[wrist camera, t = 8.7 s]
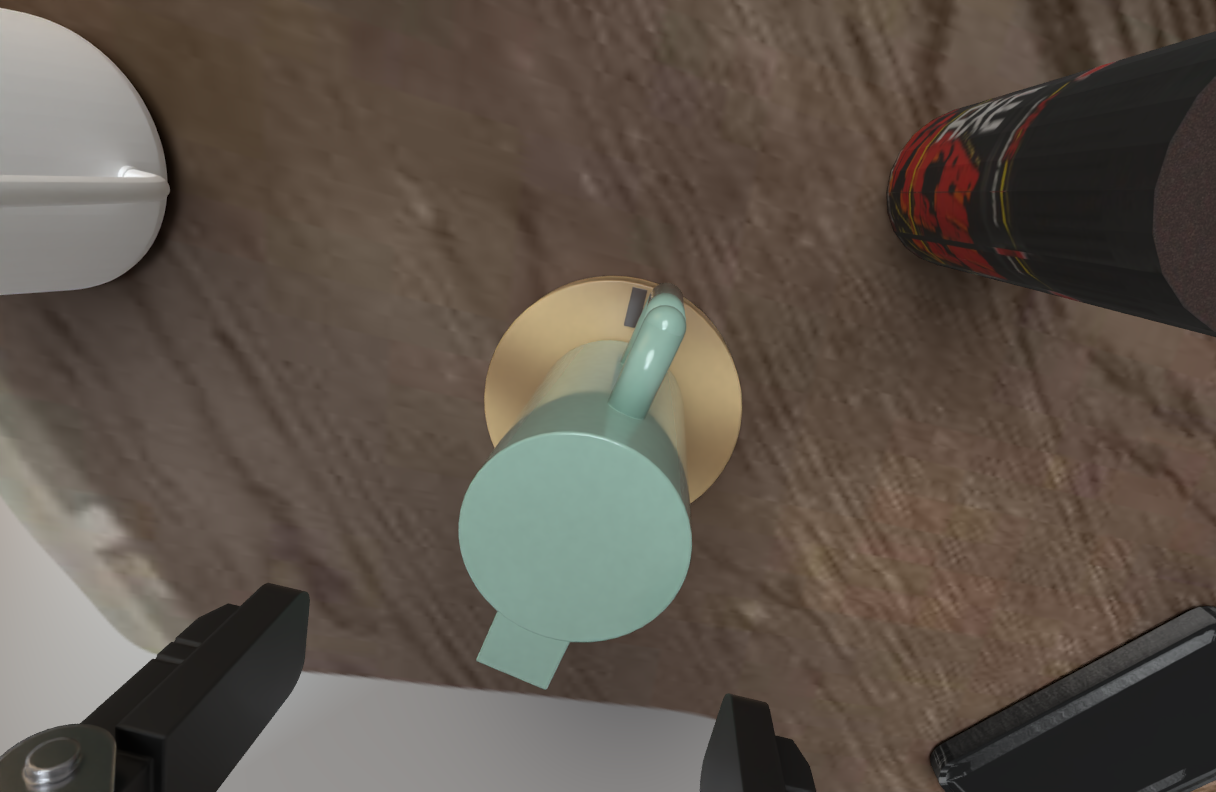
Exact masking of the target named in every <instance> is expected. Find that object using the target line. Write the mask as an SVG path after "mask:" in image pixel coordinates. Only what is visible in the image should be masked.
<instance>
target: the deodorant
mask: <svg viewBox="0 0 1216 792" xmlns="http://www.w3.org/2000/svg"><path fill="white" fill-rule="evenodd" d="M887 208H888V215H889V218H890V221H891V224H892V227H893V230H894V232H895V233H896V235H897V236H898V237H899V239H900V240H901V242H902V243H903V244H904V246H905V247H906V248H908V249H909V250H910V251H912V252H913V253H914V254H915V255H917V256H918V257H919V258H921V259H924V260H927V261H929V262H932V263H934V264H937V265H940V266H944V267H948V268H952V269H956V270H960V271H964V272H967V273H971V274H975V275H979V276H983V277H987V278H991V279H994V280H998V281H1002V282H1006V283H1010V284H1014V285H1017V286H1021V287H1025V288H1029V289H1033V290H1037V291H1041V292H1044V293H1048V294H1052V295H1056V296H1060V297H1064V298H1068V299H1071V300H1075V301H1079V302H1083V303H1087V304H1091V305H1095V306H1098V307H1102V308H1106V309H1110V310H1114V311H1118V312H1121V313H1125V314H1129V315H1133V316H1137V317H1141V318H1145V319H1148V320H1152V321H1156V322H1160V323H1164V324H1168V325H1172V326H1175V327H1179V328H1183V329H1187V330H1191V331H1195V332H1198V333H1202V334H1206V335H1210V336H1214V337H1216V31H1215V32H1212V33H1209V34H1205V35H1202V36H1199V37H1195V38H1192V39H1189V40H1185V41H1182V42H1179V43H1175V44H1172V45H1169V46H1166V47H1162V48H1159V49H1156V50H1152V51H1149V52H1146V53H1142V54H1139V55H1136V56H1132V57H1129V58H1126V59H1122V60H1119V61H1116V62H1112V63H1109V64H1106V65H1102V66H1099V67H1096V68H1092V69H1089V70H1086V71H1083V72H1079V73H1076V74H1073V75H1069V76H1066V77H1063V78H1059V79H1056V80H1053V81H1049V82H1046V83H1043V84H1039V85H1036V86H1033V87H1029V88H1026V89H1023V90H1019V91H1016V92H1013V93H1009V94H1006V95H1003V96H1000V97H996V98H993V99H990V100H986V101H983V102H980V103H976V104H973V105H970V106H966V107H963V108H960V109H956V110H953V111H951V112H949V113H947V114H944V115H942V116H940V117H938V118H936V119H934V120H932V121H931V122H929V123H928V124H927V125H925V126H924V127H923V128H922V129H920V130H919V131H918V132H917V133H915V134H914V135H913V137H912V138H911V139H910V140H909V142H908V143H907V144H906V145H905V147H904V148H903V149H902V150H901V152H900V153H899V156H898V158H897V160H896V162H895V164H894V166H893V168H892V170H891V173H890V178H889V183H888V188H887Z"/></svg>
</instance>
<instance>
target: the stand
mask: <svg viewBox="0 0 1216 792" xmlns="http://www.w3.org/2000/svg"><path fill="white" fill-rule="evenodd" d="M657 285H659V284H657V283H653V282H650V281H647V280H644V279H639V278H633V277H627V276H600V277H591V278H587V279H582V280H578V281H575V282H572V283H569V284H567V285H564V286H561V287H559V288H557V289H555V290H554V291H552V292H550V293H548V294H546V295H545V296H543V297H542V298H541V299H539V300H538V301H537V302H535V303H534V304H533V305H531V306H530V307H529V308H527V309H526V310H525V311H524V312H523V313H522V314H521V315H520V316H519V317H518V318H517V319H516V320H515V321H514V322H513V323H512V325H511V326H510V327H509V328H508V330H507V331H506V332H505V334H504V335H503V337H502V339H501V340H500V342H499V344H498V346H497V347H496V349H495V352H494V354H493V357H492V359H491V362H490V365H489V369H488V373H487V377H486V383H485V393H484V403H485V416H486V422H487V427H488V430H489V434H490V437H491V440H492V443H493V445H494V447H496V446H497V444H498V443H499V441H500V440H501V439H502V437H503V436H504V434H505V433H506V431H507V430H508V429H509V427H510V426H511V424H512V423H513V421H514V420H515V419H516V417H517V416H518V414H519V413H520V411H521V410H522V409H523V407H524V406H525V404H526V403H527V402H528V400H529V399H530V397H531V396H532V394H533V393H534V392H535V390H536V389H537V387H538V386H539V384H540V383H541V382H542V380H543V379H544V377H545V376H546V374H547V373H548V372H549V370H550V369H551V367H552V366H553V365H554V364H555V363H556V362H557V361H558V360H559V359H560V358H561V357H562V356H563V355H565V354H566V353H568V352H569V351H571V350H572V349H574V348H576V347H579V346H581V345H583V344H587V343H590V342H595V341H601V340H615V341H623V342H627V343H628V342H629V340H630V338H631V335H632V333H633V331H634V329H635V326H636V324H637V322H638V320H639V317H640V315H641V313H642V311H643V308H644V306H645V304H646V302H647V299H648V297H649V295H650V293H651V291H652V290H653V289H654V288H655V287H656V286H657ZM683 299H684V308H685V317H686V333H685V335H684V338H683V340H682V342H681V344H680V346H679V348H678V350H677V353H676V355H675V357H674V359H673V361H672V363H671V365H670V367H669V370H670V371H671V372H672V374H673V375H674V377H675V379H676V381H677V383H678V385H679V387H680V390H681V393H682V396H683V402H684V412H685V428H686V445H687V462H688V479H689V495H690V504H691V503H692V502H693V501H694V500H696V499H697V498H698V497H700V496H701V495H702V494H703V493H704V492H705V491H706V490H707V489H708V488H709V487H710V486H711V485H712V484H713V483H714V482H715V480H716V479H717V478H718V476H719V475H720V474H721V472H722V471H723V470H724V468H725V466H726V464H727V463H728V461H729V459H730V457H731V455H732V452H733V450H734V447H735V445H736V442H737V439H738V434H739V430H740V426H741V416H742V394H741V388H740V382H739V377H738V374H737V371H736V368H735V365H734V362H733V359H732V356H731V354H730V351H729V349H728V347H727V345H726V343H725V341H724V339H723V337H722V336H721V335H720V333H719V332H718V330H717V329H716V327H715V326H714V324H713V323H712V322H711V321H710V320H709V319H708V318H707V317H706V315H705V314H704V313H703V312H702V311H701V310H700V309H698V308H697V307H696V306H695V305H694V304H692V303H691V302H690V301H689V300H687V299H686V298H684V297H683Z"/></svg>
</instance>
